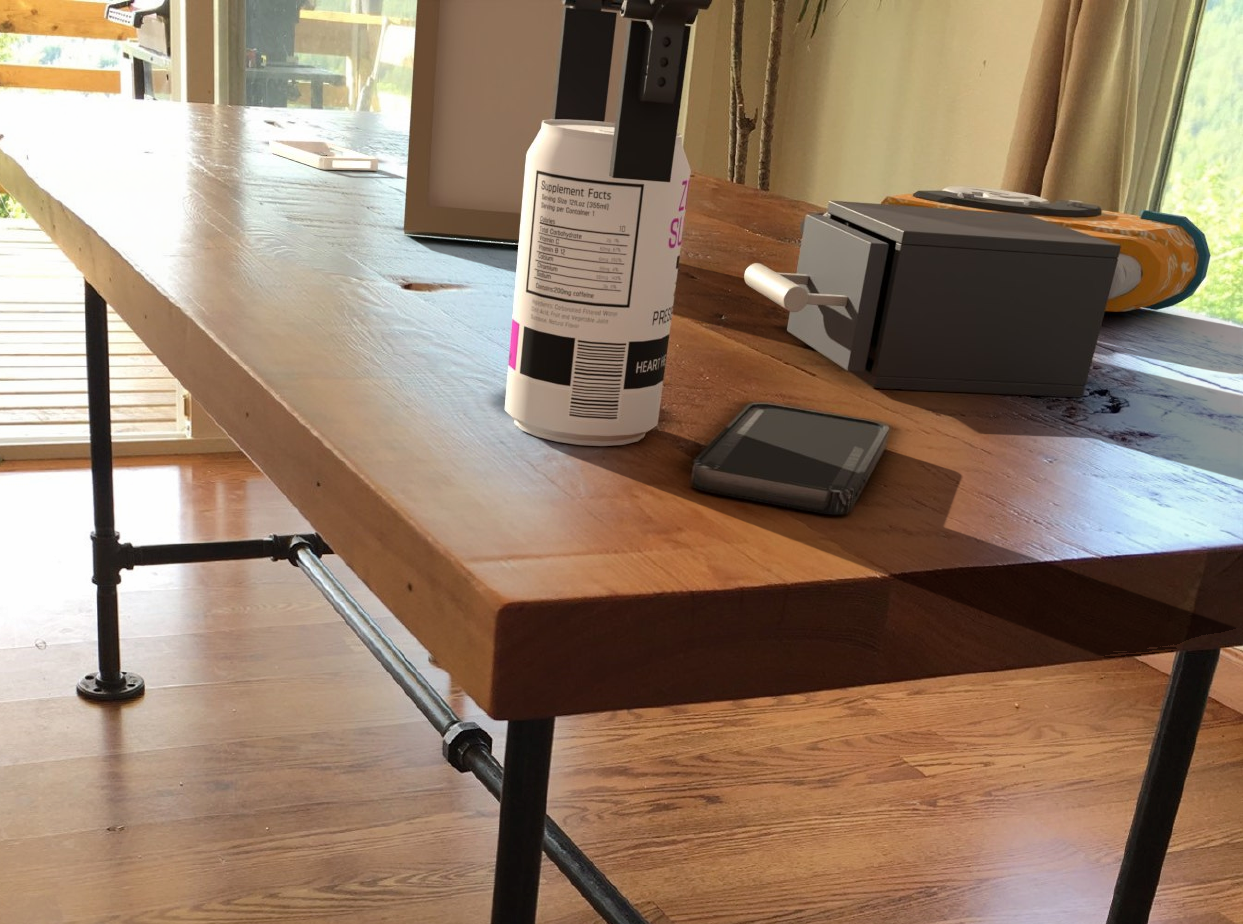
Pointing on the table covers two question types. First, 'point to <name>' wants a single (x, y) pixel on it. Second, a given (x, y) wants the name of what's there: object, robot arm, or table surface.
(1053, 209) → the device
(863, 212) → the small grey cabinet
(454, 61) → the photo frame
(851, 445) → the phone
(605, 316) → the supplement can
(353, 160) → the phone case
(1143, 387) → the table surface
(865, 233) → the drawer
